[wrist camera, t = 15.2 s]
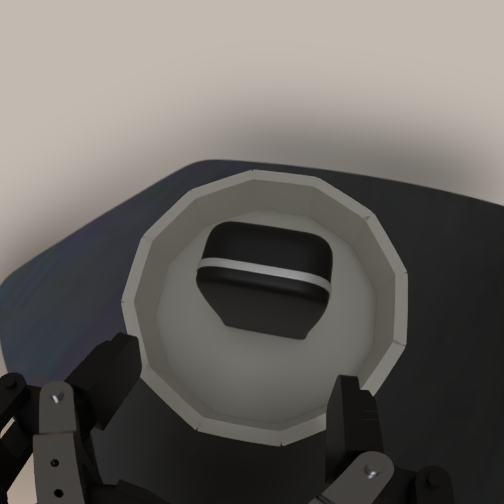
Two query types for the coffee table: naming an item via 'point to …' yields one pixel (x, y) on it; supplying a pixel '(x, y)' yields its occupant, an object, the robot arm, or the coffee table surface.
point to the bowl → (258, 344)
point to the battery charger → (266, 278)
